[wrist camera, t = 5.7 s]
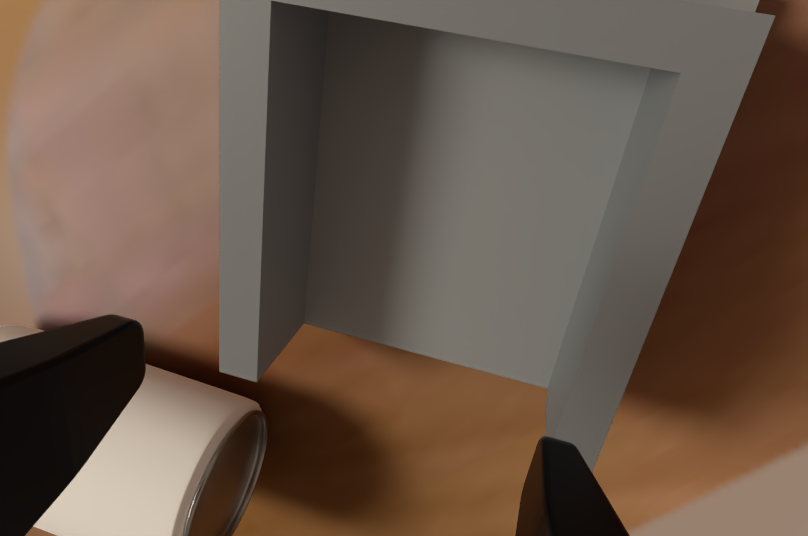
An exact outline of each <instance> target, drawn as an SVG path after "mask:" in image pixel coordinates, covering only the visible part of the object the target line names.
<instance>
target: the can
mask: <svg viewBox="0 0 808 536" xmlns="http://www.w3.org/2000/svg"><path fill="white" fill-rule="evenodd" d="M42 331H44V330H40V329H37V328H33V327H29V326H24V325H2V326H0V342H3V341H7V340H11V339H15V338H19V337H23V336H27V335H31V334H35V333H38V332H42ZM267 440H268V422H267V418H266V415H265V414H264V413H263V412H262V410H261V408H260V406H259V404H258V403H257V402H256V401H253V400H251V399H248V398H246V397H243V396H240V395H237V394H234V393H231V392H228V391H226V390H223V389H220V388H217V387H214V386H211V385H208V384H205V383H202V382H199V381H196V380H193V379H190V378H187V377H184V376H181V375H178V374H175V373H172V372H169V371H166V370H163V369H160V368H157V367H154V366H151V365H148V364H146V372H145V377H144V380H143V382H142V384H141V386H140V387H139V389H138V390H137V392H136V393H135V395H134V396H133V397H132V399H131V400H130V402H129V403H128V404H127V406H126V407H125V409H124V410H123V411H122V413H121V414H120V416H119V417H118V418H117V420H116V421H115V423H114V424H113V425H112V427H111V428H110V430H109V431H108V432H107V434H106V435H105V437H104V438H103V439H102V441H101V442H100V444H99V445H98V446H97V448H96V449H95V451H94V452H93V454H92V455H91V456H90V458H89V459H88V461H87V462H86V463H85V465H84V466H83V467H82V468H81V470H80V471H79V472H78V474H77V475H76V476H75V478H74V479H73V480H72V481H71V482H70V484H69V485H68V486H67V487H66V488H65V490H64V491H63V492H62V493H61V494H60V496H59V497H58V498H57V499H56V500H55V501H54V503H53V504H52V505H51V506H50V507H49V508H48V509H47V511H46V512H45V513H44V514H43V515H42V516H41V517H40V519H39V520H38V521H37V522H36V523H35V524H34V527H37V528H39V529H42V530H44V531H47V532H49V533H52V534H55V535H57V536H232V535H233V533H234V532H235V530H236V528H237V526H238V524H239V522H240V521H241V519H242V516H243V514H244V512H245V510H246V508H247V506H248V504H249V501H250V499H251V496H252V494H253V491H254V489H255V486H256V483H257V480H258V477H259V474H260V471H261V468H262V464H263V460H264V456H265V452H266V447H267Z"/></svg>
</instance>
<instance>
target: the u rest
mask: <svg viewBox="0 0 808 536" xmlns="http://www.w3.org/2000/svg"><path fill="white" fill-rule="evenodd" d="M759 1H760V0H219V372H222V373H226V374H229V375H233V376H236V377H240V378H243V379H247V380H250V381H254V382H257V381H258V380H259V379H260V378H261V376H262V375H263V374H264V373H265V371H266V370H267V369H268V368H269V366H270V365H271V364H272V363H273V361H274V360H275V359H276V358H277V356H278V355H279V354H280V353H281V351H282V350H283V349H284V348H285V346H286V345H287V344H288V343H289V341H290V340H291V339H292V338H293V336H294V335H295V334H296V333H297V331H298V330H299V329H300V328H301V326H302V325H303V324H304V323H305V324H309V325H313V326H316V327H320V328H324V329H328V330H331V331H335V332H339V333H342V334H346V335H350V336H354V337H357V338H361V339H365V340H369V341H372V342H376V343H380V344H383V345H387V346H391V347H395V348H398V349H402V350H406V351H410V352H413V353H417V354H421V355H425V356H428V357H432V358H436V359H439V360H443V361H447V362H451V363H454V364H458V365H462V366H466V367H469V368H473V369H477V370H480V371H484V372H488V373H492V374H495V375H499V376H503V377H507V378H510V379H514V380H518V381H521V382H525V383H529V384H533V385H536V386H540V387H544V388H547V407H546V433H545V436H549V437H552V438H556V439H559V440H563V441H567V442H570V443H572V444H574V445H575V446H576V447H577V449H578V450H579V452H580V453H581V455H582V457H583V459H584V460H585V462H586V464H587V465H588V467H589V469H590V470H591V472H592V471H593V468H594V466H595V463H596V461H597V458H598V456H599V453H600V451H601V448H602V446H603V443H604V441H605V438H606V436H607V433H608V431H609V428H610V426H611V423H612V421H613V418H614V416H615V414H616V411H617V409H618V406H619V404H620V401H621V399H622V396H623V394H624V391H625V389H626V386H627V384H628V381H629V379H630V376H631V374H632V371H633V369H634V366H635V364H636V361H637V359H638V356H639V354H640V351H641V349H642V346H643V344H644V341H645V339H646V336H647V334H648V331H649V329H650V327H651V324H652V322H653V319H654V317H655V314H656V312H657V309H658V307H659V304H660V302H661V299H662V297H663V294H664V292H665V289H666V287H667V284H668V282H669V279H670V277H671V274H672V272H673V269H674V267H675V264H676V262H677V259H678V257H679V254H680V252H681V249H682V247H683V244H684V242H685V240H686V237H687V235H688V232H689V230H690V227H691V225H692V222H693V220H694V217H695V215H696V212H697V210H698V207H699V205H700V202H701V200H702V197H703V195H704V192H705V190H706V187H707V185H708V182H709V180H710V177H711V175H712V172H713V170H714V167H715V165H716V162H717V160H718V157H719V155H720V153H721V150H722V148H723V145H724V143H725V140H726V138H727V135H728V133H729V130H730V128H731V125H732V123H733V120H734V118H735V115H736V113H737V110H738V108H739V105H740V103H741V100H742V98H743V95H744V93H745V90H746V88H747V85H748V83H749V80H750V78H751V75H752V73H753V70H754V68H755V66H756V63H757V61H758V58H759V56H760V53H761V51H762V48H763V46H764V43H765V41H766V38H767V36H768V33H769V31H770V28H771V26H772V23H773V21H774V18H775V15H769V14H762V13H756V12H755V11H756V8H757V6H758V3H759Z"/></svg>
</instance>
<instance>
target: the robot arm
mask: <svg viewBox="0 0 808 536" xmlns="http://www.w3.org/2000/svg"><path fill="white" fill-rule="evenodd" d="M145 372H146V363H145V348H144V333H143V328H142V326H141V324H140V323H139V322H137V321H136V320H133V319H129V318H126V317H122V316H118V315H105V316H101V317H97V318H93V319H90V320H86V321H82V322H78V323H74V324H70V325H66V326H62V327H58V328H54V329H50V330H46V331H42V332H38V333H35V334H31V335H27V336H23V337H19V338H15V339H11V340H7V341H3V342H0V536H25V535H26V534H27V532H28V531H29V530H30V529H31V528H32V527H33V526H34V524H35V523H36V522H37V521H38V520H39V519H40V517H41V516H42V515H43V514H44V513H45V512H46V511H47V509H48V508H49V507H50V506H51V505H52V504H53V503H54V501H55V500H56V499H57V498H58V497H59V496H60V494H61V493H62V492H63V491H64V490H65V488H66V487H67V486H68V485H69V484H70V482H71V481H72V480H73V479H74V478H75V476H76V475H77V474H78V472H79V471H80V470H81V468H82V467H83V466H84V465H85V463H86V462H87V461H88V459H89V458H90V456H91V455H92V454H93V452H94V451H95V449H96V448H97V446H98V445H99V444H100V442H101V441H102V439H103V438H104V437H105V435H106V434H107V432H108V431H109V430H110V428H111V427H112V425H113V424H114V423H115V421H116V420H117V418H118V417H119V416H120V414H121V413H122V411H123V410H124V409H125V407H126V406H127V404H128V403H129V402H130V400H131V399H132V397H133V396H134V395H135V393H136V392H137V390H138V389H139V387H140V386H141V384H142V382H143V380H144V377H145ZM515 536H629V534H628V532H627V531H626V529H625V527H624V526H623V524H622V522H621V520H620V519H619V517H618V515H617V514H616V512H615V510H614V509H613V507H612V505H611V504H610V502H609V500H608V499H607V497H606V495H605V494H604V492H603V490H602V489H601V487H600V485H599V484H598V482H597V480H596V479H595V477H594V475H593V474H592V472H591V470H590V469H589V467H588V465H587V464H586V462H585V460H584V459H583V457H582V455H581V453H580V452H579V450H578V449H577V447H576V446H575V445H574V444H572V443H570V442H567V441H563V440H559V439H556V438H552V437H549V436H543V437H542V438H541V439H540V440H539V442H538V444H537V447H536V450H535V453H534V456H533V459H532V462H531V465H530V468H529V471H528V474H527V477H526V480H525V483H524V487H523V491H522V495H521V501H520V508H519V515H518V522H517V529H516V535H515Z"/></svg>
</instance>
